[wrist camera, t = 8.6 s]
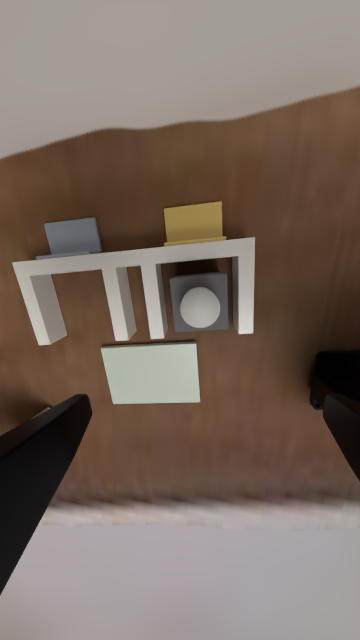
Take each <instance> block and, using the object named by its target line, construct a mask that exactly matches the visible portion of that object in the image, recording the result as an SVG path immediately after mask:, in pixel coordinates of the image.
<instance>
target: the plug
mask: <svg viewBox="0 0 360 640" xmlns="http://www.w3.org/2000/svg"><path fill="white" fill-rule="evenodd" d="M169 280H170V290H171V299H172V308H173V318H174V327H175V332H189V331H205V330H222V329H228V294H227V274H225V273H222V272H210V273H200V274H189V275H178V276H174V277H172V278H171V279H169Z"/></svg>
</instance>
